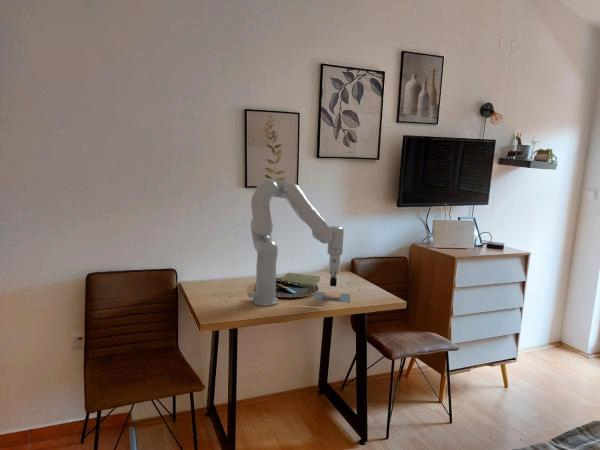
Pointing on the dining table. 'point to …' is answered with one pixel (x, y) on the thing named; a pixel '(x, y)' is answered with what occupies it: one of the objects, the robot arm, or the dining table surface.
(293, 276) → the decorative tile
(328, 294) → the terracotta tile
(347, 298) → the rubber mat
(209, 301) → the dining table surface
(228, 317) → the dining table surface
